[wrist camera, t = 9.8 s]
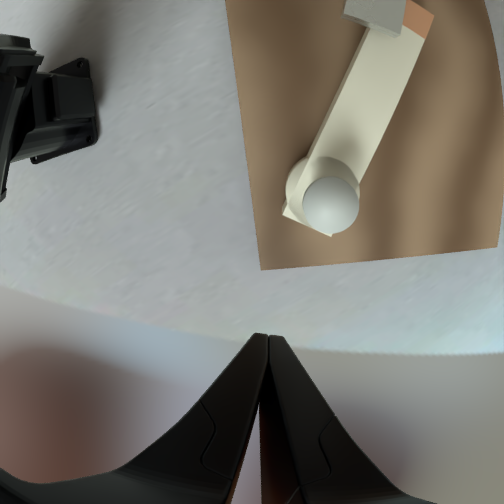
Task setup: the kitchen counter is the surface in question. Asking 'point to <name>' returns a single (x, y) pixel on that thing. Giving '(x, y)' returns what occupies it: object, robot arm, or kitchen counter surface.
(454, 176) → the base plate
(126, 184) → the kitchen counter surface
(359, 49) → the bar
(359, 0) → the block
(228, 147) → the kitchen counter surface
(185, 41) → the kitchen counter surface
